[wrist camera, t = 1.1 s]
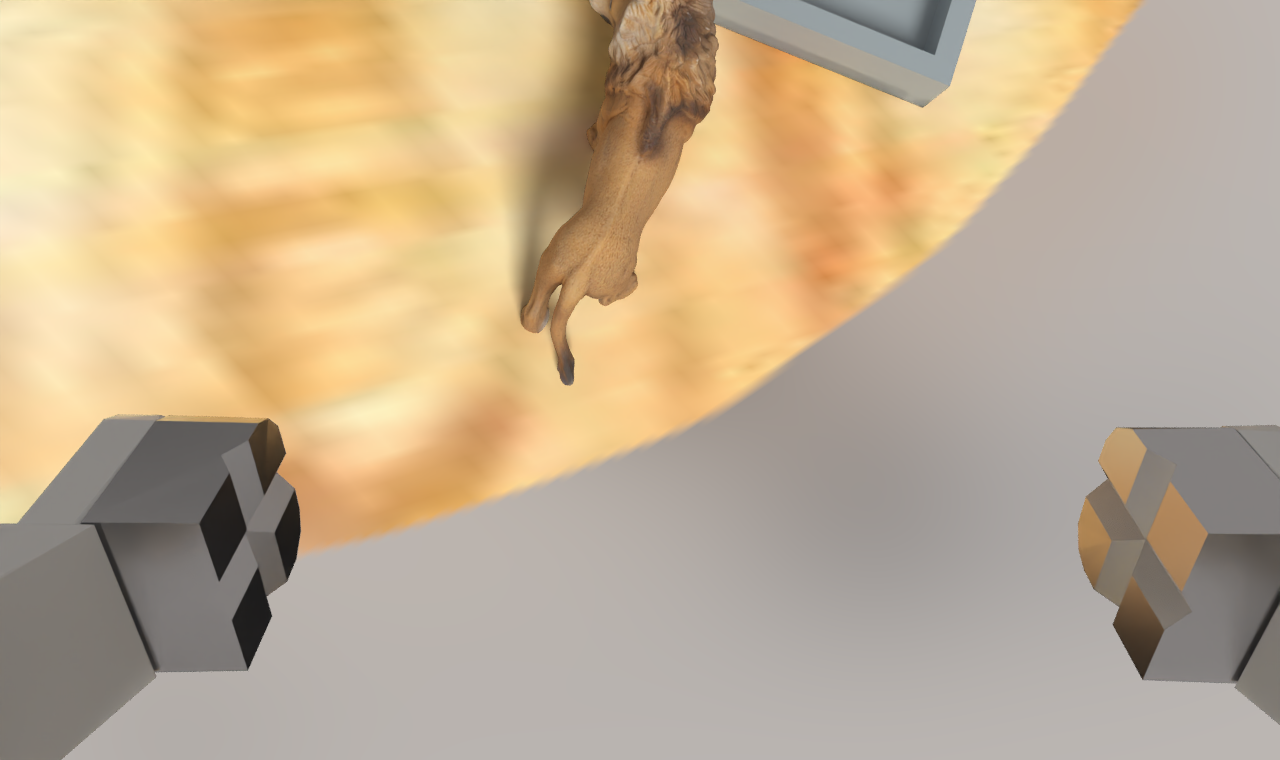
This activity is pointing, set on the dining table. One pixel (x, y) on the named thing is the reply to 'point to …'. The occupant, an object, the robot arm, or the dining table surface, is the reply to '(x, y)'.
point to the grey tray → (862, 38)
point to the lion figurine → (628, 155)
